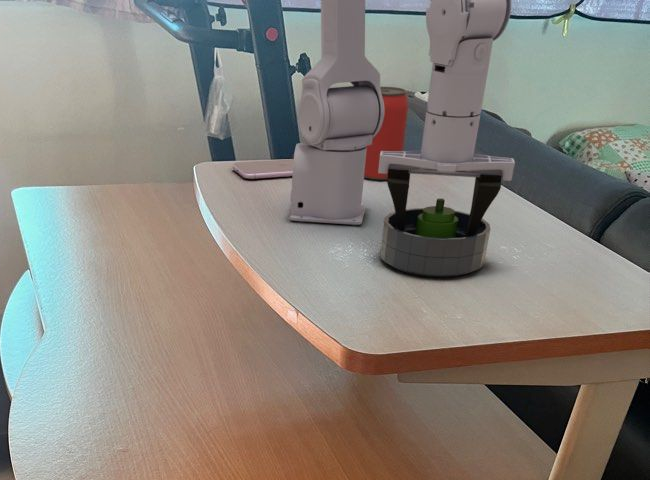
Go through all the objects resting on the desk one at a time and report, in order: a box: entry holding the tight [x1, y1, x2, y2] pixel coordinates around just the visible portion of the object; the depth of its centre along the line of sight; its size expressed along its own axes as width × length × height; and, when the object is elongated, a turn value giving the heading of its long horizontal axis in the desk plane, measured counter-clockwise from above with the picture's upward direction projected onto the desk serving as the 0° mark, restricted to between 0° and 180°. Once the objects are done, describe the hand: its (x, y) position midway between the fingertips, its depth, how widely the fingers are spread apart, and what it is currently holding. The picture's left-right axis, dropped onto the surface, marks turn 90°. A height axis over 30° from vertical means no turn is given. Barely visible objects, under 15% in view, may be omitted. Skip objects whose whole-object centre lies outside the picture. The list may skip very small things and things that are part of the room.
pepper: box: [415, 198, 458, 238], centre depth 96 cm, size 5×5×7 cm
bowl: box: [379, 207, 491, 278], centre depth 97 cm, size 12×12×4 cm
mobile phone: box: [232, 158, 294, 180], centre depth 130 cm, size 8×1×15 cm
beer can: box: [364, 86, 409, 181], centre depth 126 cm, size 7×7×12 cm
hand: (433, 241), depth 96 cm, fingers open, 7 cm apart
